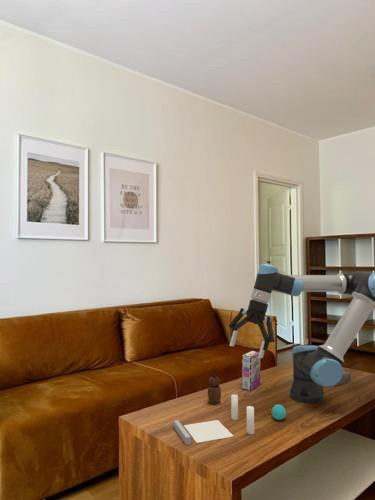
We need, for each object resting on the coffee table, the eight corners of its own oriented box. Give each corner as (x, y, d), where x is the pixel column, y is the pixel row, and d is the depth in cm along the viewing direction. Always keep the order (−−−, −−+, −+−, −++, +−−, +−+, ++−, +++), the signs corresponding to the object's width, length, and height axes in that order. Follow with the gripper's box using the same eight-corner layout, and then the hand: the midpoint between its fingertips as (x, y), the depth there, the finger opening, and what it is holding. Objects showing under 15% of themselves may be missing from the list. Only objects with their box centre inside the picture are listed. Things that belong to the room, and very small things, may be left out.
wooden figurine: (207, 399, 166) (207, 365, 167) (220, 399, 166) (220, 365, 166) (208, 405, 159) (207, 370, 160) (221, 405, 159) (221, 370, 160)
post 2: (251, 430, 136) (251, 405, 136) (255, 433, 134) (255, 408, 134) (245, 431, 135) (245, 406, 136) (249, 434, 133) (248, 409, 133)
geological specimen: (352, 371, 191) (334, 375, 182) (351, 383, 191) (334, 388, 182) (333, 366, 200) (316, 369, 191) (332, 377, 200) (315, 381, 191)
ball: (280, 415, 149) (280, 401, 149) (288, 421, 144) (288, 406, 144) (268, 417, 147) (268, 403, 148) (276, 423, 142) (276, 408, 142)
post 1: (236, 416, 148) (236, 393, 148) (239, 419, 146) (239, 396, 146) (230, 417, 147) (230, 394, 147) (233, 420, 145) (233, 397, 145)
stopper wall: (178, 426, 139) (177, 420, 139) (190, 444, 126) (190, 436, 126) (173, 427, 139) (173, 420, 139) (186, 445, 126) (186, 437, 126)
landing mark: (217, 420, 145) (217, 419, 145) (233, 436, 132) (233, 436, 132) (183, 425, 140) (183, 425, 140) (196, 443, 127) (196, 442, 127)
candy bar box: (251, 391, 176) (251, 356, 177) (241, 389, 179) (241, 355, 180) (261, 384, 185) (260, 351, 186) (251, 383, 188) (251, 350, 189)
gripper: (229, 292, 158) (216, 341, 156) (283, 308, 142) (269, 363, 141) (238, 294, 164) (225, 341, 162) (291, 310, 148) (277, 362, 146)
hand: (245, 351), depth 151 cm, fingers open, 13 cm apart
